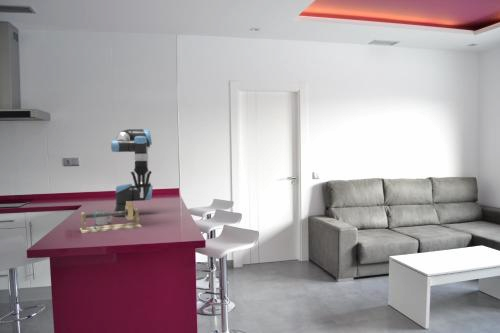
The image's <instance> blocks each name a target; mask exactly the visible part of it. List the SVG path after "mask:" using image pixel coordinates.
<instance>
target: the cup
mask: <svg viewBox="0 0 500 333" xmlns="http://www.w3.org/2000/svg"><path fill="white" fill-rule="evenodd" d="M105 212H109V210H108V209H99V210H96V211H95V213H105ZM95 220H96V223H95V224H96V226H106V225H109V223H110V222H112V220H113V216H106V217H97V218H95Z"/></svg>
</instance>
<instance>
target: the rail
mask: <svg viewBox="0 0 500 333" xmlns="http://www.w3.org/2000/svg"><path fill="white" fill-rule="evenodd" d="M139 210H140V209H139V208H134V210H133V214H134V215H133V221H134V222H129V223H121V224H120V223H119V224H107V225H96V226H89V227H88V226H87V222H86V220H87V219H96V218H97V217H106V216H108V217H110V216H112V217H116V216H118V215H127V211H117V212H114V211H108V212H105V213H96V212H92V213H86V212H81V213H80V216H81V217H80V220H81V222H80V223H81V227H79V231H80V232H81V233H82V234H89V233H100V232H107V231H108V232H109V231H119V230H129V229H130V230H131V229H139V228H142V225H141V224H140V215H139V214H140V211H139Z"/></svg>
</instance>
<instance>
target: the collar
mask: <svg viewBox="0 0 500 333" xmlns="http://www.w3.org/2000/svg"><path fill="white" fill-rule="evenodd" d="M132 205H133V201H126V206H125V211H127V215H125V219H126V220H127V221H132V220H133V221H134V215H133V208H134V206H133V207H132Z"/></svg>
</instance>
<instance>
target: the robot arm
mask: <svg viewBox="0 0 500 333" xmlns="http://www.w3.org/2000/svg"><path fill="white" fill-rule="evenodd" d="M151 136H152V135H151V131H150V130H149V129H144V128H142V129H141V128H139V129H131V128H129V129H124V130H122V131H120V132H118V133H117V134H116V136H115V140H111V141H110V148H111V151H112V152H113V153H115V152H116V153H124V152H125V153H126V152H127V153H133V152H134V160H135V161H134V169H133V170H132V171H131V172H130V174H131V176H132V179H133V180H132V181H133V183H134V185H133V184H132V183H126V184H120V185H118V186H116V187H115V209H114V211H113V212H117V211H125V206H126V201H132V202H140V201H141V202H142V201H143V202H145V201H150V200H151V199H152V195H153V185H152V184H151V182H150V176H151V174H152V171H151V170H149V149H150V147H151V146H152V144H153V143H152V137H151ZM132 207H133V210H134V209H135V208H134V206H133V204H132ZM133 216H134V214H133ZM115 217H119V218H121V217H123V218H124V217H125V218H126V216H125V215H118V216H115Z"/></svg>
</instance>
